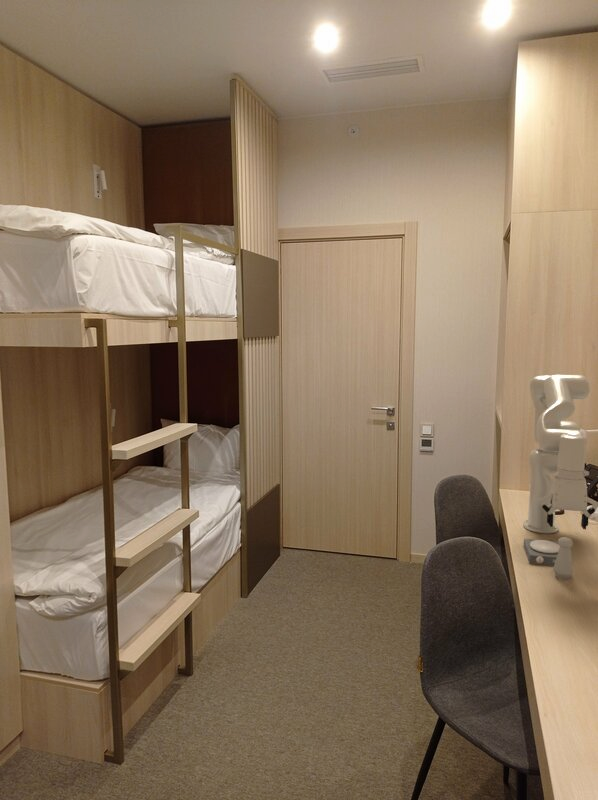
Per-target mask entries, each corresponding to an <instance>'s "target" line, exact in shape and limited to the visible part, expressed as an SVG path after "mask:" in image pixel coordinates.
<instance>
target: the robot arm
mask: <svg viewBox="0 0 598 800" xmlns="http://www.w3.org/2000/svg"><path fill="white" fill-rule="evenodd" d="M529 392H530V397H531V400H532V402H533V406H534V423H533V424H534V426H533V427H534V429H533V435H534V436H533V437H534V440H535V443H536V444H537V445H538V446H539V448H535V449H533V450H532V451H531V452H530V454H529V456H528V461H529V462H528V463H529V472H530V473H529V475H530V477H529V478H530V480H529V496H528V497H529V498H528V499H529V500H528V513H527V515H528V516H527V519H526V520H524V522H523V527H524V528H525V529H527V530H528V531H530V532H533V533H539V534H545V535H546V534H554V533H556V532H558V531H559V525H558V524H556V523H555V521H556V519H555V518H556V511H557V510H559V511H560V510H561V511H576V512H582V514H581V523H580V526H581V528H582V529H583V530H586V529H587V527H588V526H589V518H591V516H592V514H594V513H595V512H596V510H597V509H598V501H596V500H594V499H593V498H590V497H589V496H588V487H587V480H586V478H585V477H587V476H589V475H590V472H589V470H588V471H587V470H585V463H586V462H585V461H586V450H587V449H586V448H587V442H588V441H587V436H586V434H585V433H584V432H583V431H582V430H580V427H579V425H578V423H576V422H574V421H571V420H566V419H568V418H570V417H571V416H572V415H573V414H574V412H575V410H576V408H575V406H576V405H575V402H574V400H585V399H587V398H588V396H589V394H590V382H589V381H588V379H587V378H586V376H584V375H582V374H553V375H549V374H547V375H536V376H534V377H532V378H531V380H530V383H529ZM551 475H554V476H553V477H552V476H551ZM588 503H589V504H591V507H589V508H588V509H587V507H588Z"/></svg>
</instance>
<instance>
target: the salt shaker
mask: <svg viewBox="0 0 598 800" xmlns="http://www.w3.org/2000/svg"><path fill="white" fill-rule="evenodd" d="M557 541H558V544H559V545H560V548H559V552H558V555H557V558H556V562H555V565H554V566H553V572H554V574H555V577H556V578H557V579H559V580H562V581H563V580H565V581H568V580H571V578H572V576H573V574H574V566H573V557H572V549H571V548H573V546H574V541H573V539H572V538H570V537H565V536H561V537H559V538H558V540H557Z"/></svg>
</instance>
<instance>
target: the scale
mask: <svg viewBox="0 0 598 800" xmlns="http://www.w3.org/2000/svg"><path fill="white" fill-rule="evenodd" d="M559 548H560V545H559V544H558V540H546V539H545V540H543V539H530V538H523V549H524V552H525V555H526V557H527V560H528V563H529V564H531V565H543V566H544V565H545V566H553V567H554V565H555V562H556V558H557V555H558V552H559Z"/></svg>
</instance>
